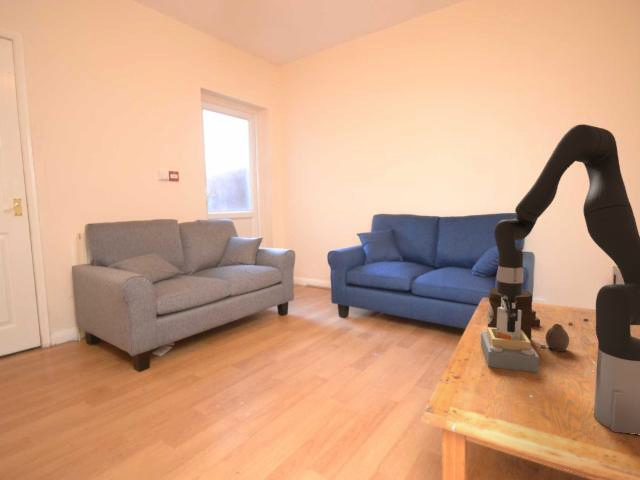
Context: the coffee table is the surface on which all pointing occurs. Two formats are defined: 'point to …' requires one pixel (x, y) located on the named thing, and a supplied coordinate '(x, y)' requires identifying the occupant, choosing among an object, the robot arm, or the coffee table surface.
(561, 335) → the vase
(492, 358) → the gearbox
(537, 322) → the stack of crates
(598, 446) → the coffee table surface
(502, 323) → the skincare box
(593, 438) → the coffee table surface
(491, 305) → the wooden container
